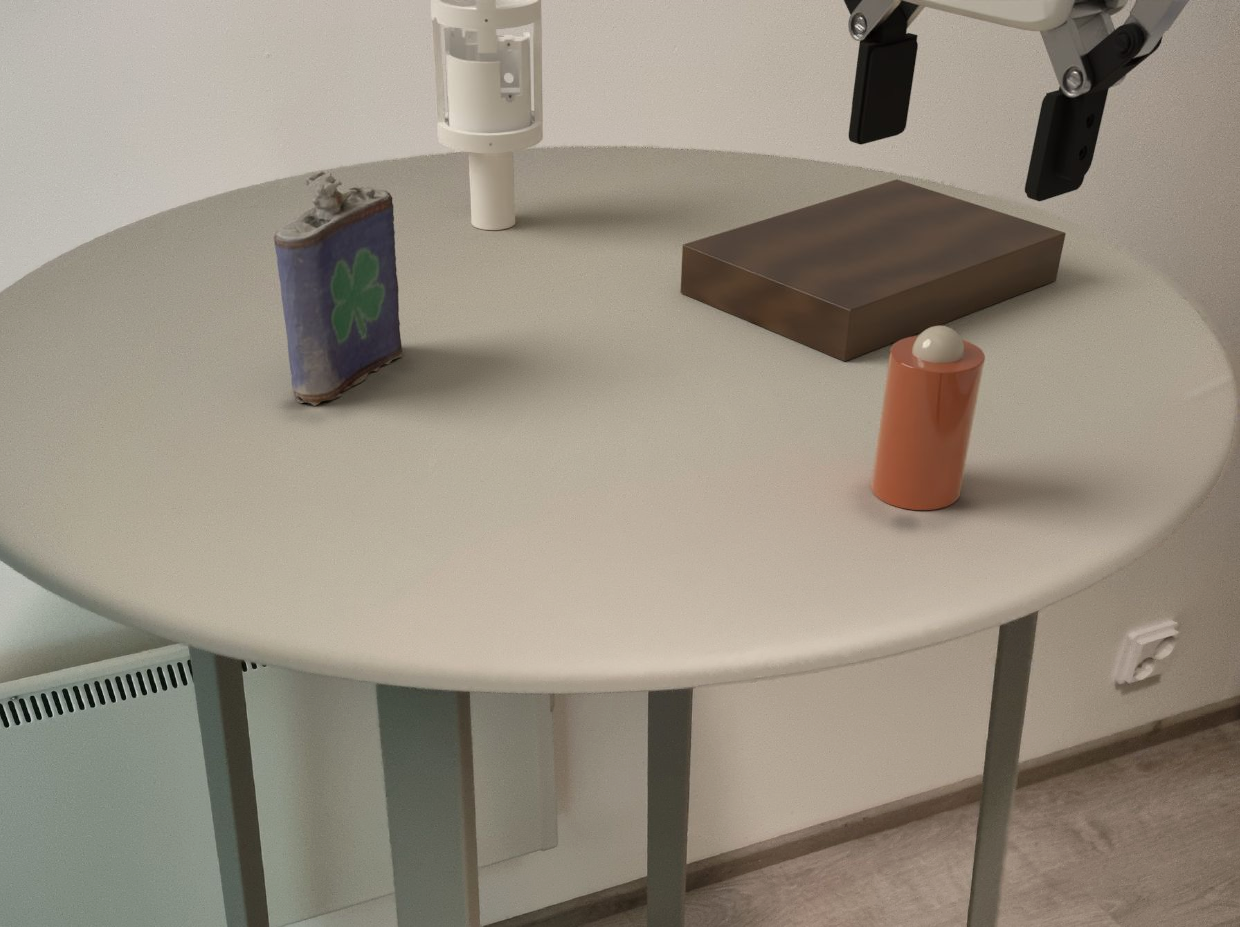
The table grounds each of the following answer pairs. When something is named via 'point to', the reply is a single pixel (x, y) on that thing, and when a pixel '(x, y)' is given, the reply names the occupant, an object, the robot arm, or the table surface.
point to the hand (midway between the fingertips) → (960, 165)
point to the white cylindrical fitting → (488, 96)
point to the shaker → (926, 419)
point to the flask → (339, 289)
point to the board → (870, 266)
